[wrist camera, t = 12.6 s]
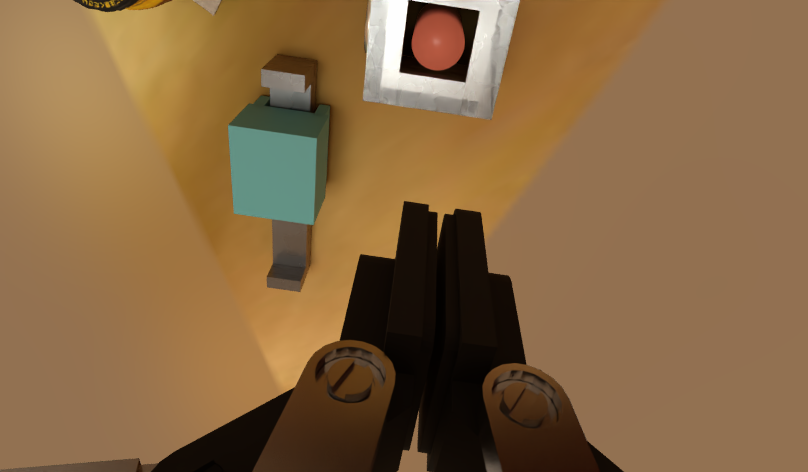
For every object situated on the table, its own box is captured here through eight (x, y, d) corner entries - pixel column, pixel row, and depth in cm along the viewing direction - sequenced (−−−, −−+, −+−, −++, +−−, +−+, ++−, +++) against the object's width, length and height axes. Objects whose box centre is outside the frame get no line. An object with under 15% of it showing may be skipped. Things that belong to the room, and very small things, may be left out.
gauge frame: (383, -59, 33) (368, -49, 26) (509, -39, 33) (525, -25, 27) (371, 64, 38) (356, 99, 31) (482, 81, 38) (491, 119, 31)
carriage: (257, 94, 39) (228, 125, 34) (334, 106, 39) (316, 138, 34) (259, 175, 43) (233, 213, 38) (329, 185, 43) (313, 225, 38)
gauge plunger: (419, -3, 32) (415, 11, 28) (466, 4, 32) (469, 19, 28) (412, 45, 34) (408, 66, 29) (457, 52, 34) (459, 73, 29)
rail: (277, 54, 38) (261, 68, 34) (317, 60, 38) (304, 75, 34) (279, 260, 48) (267, 287, 45) (310, 265, 48) (300, 291, 45)
